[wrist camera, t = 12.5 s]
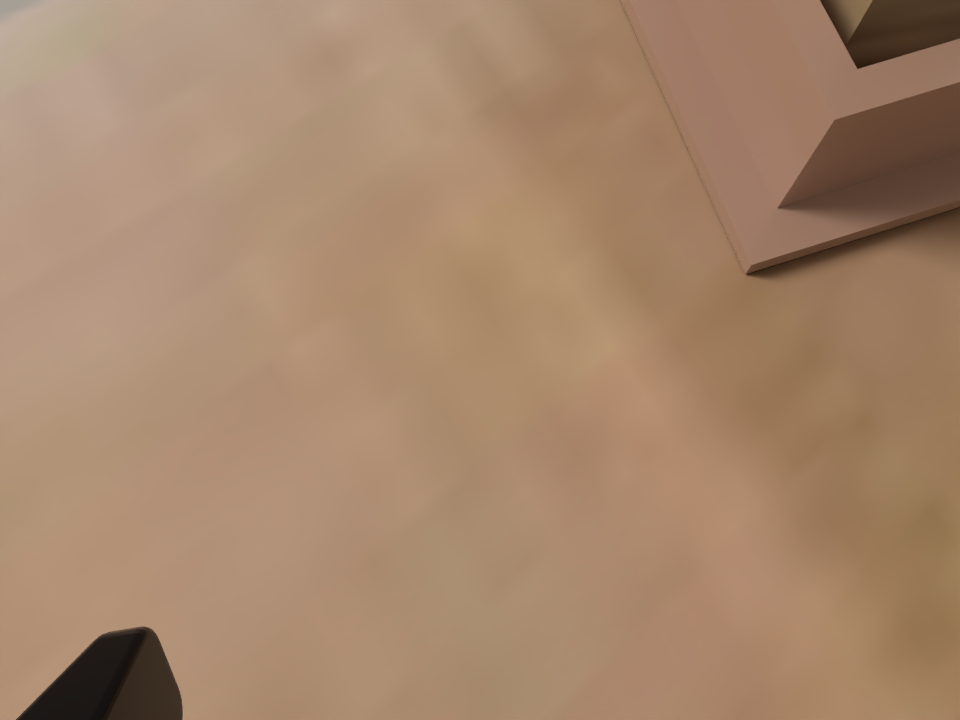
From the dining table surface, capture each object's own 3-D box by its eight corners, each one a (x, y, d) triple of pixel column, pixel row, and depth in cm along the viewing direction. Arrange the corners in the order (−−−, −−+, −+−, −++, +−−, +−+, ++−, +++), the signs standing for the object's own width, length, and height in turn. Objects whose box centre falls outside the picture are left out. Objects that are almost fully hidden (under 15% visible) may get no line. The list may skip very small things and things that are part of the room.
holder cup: (1092, 165, 23) (1232, 54, 19) (744, 274, 22) (805, 185, 18) (921, -113, 26) (1006, -265, 22) (609, -25, 25) (632, -164, 21)
